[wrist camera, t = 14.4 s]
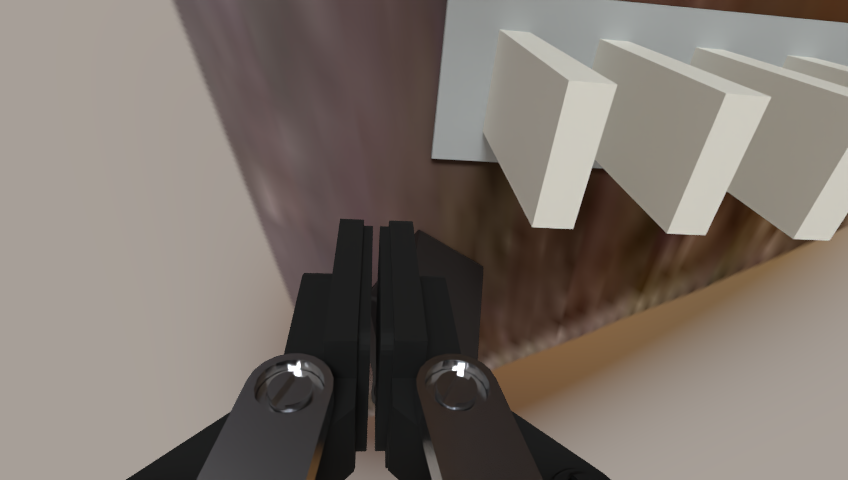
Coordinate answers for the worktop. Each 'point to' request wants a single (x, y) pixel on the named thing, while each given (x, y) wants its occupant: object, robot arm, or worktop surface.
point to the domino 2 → (673, 134)
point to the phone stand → (461, 287)
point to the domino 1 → (545, 125)
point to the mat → (579, 37)
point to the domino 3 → (790, 146)
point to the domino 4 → (818, 69)
